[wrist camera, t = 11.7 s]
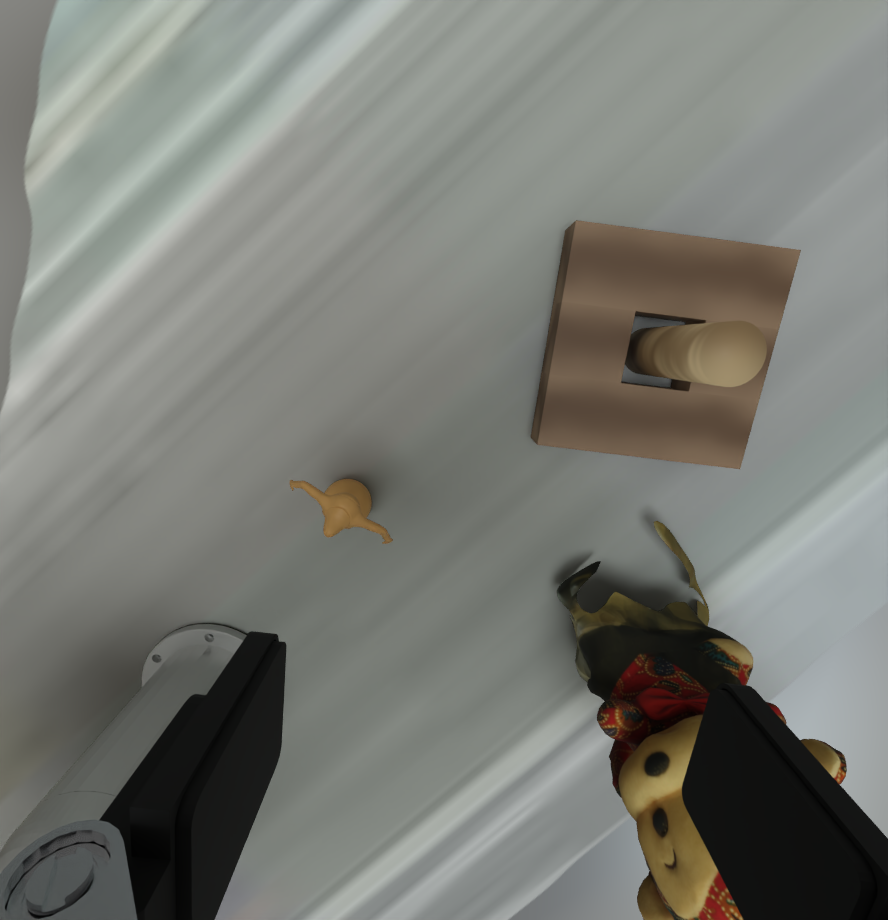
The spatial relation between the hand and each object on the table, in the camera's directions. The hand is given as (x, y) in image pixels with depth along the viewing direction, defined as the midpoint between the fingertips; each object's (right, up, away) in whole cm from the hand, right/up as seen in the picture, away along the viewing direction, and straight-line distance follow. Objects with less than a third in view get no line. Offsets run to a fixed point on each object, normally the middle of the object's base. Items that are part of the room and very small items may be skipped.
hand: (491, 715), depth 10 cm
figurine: (-8, +3, +31) cm, 32 cm away
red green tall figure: (+15, -8, +33) cm, 38 cm away
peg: (+15, +14, +28) cm, 35 cm away
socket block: (+15, +14, +28) cm, 35 cm away
